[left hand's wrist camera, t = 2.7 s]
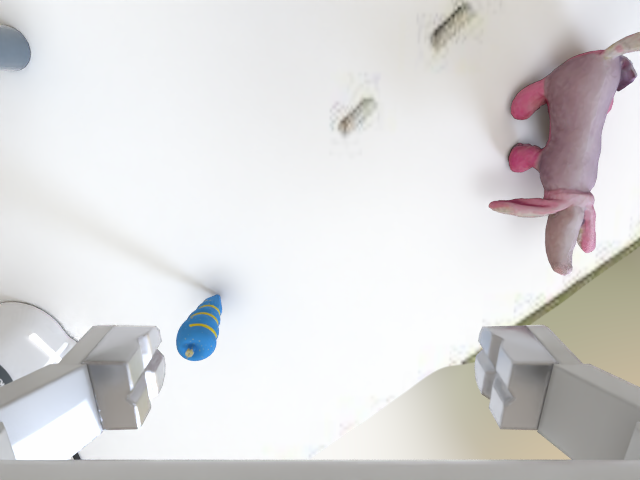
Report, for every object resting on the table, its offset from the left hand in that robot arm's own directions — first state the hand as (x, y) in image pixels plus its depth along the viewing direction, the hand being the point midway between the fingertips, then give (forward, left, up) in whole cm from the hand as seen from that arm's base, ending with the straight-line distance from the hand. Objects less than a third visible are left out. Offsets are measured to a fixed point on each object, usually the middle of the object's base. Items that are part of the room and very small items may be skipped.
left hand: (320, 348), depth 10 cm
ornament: (+24, -16, -48) cm, 56 cm away
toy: (+2, +31, -48) cm, 57 cm away
